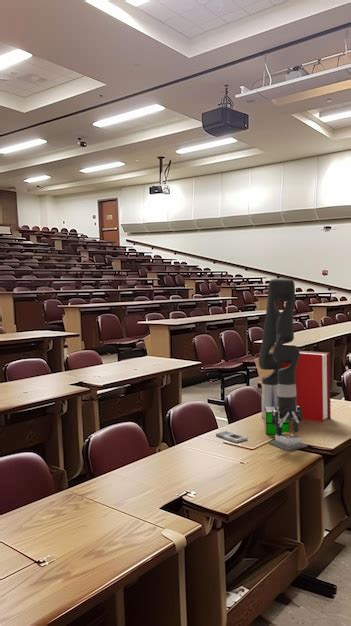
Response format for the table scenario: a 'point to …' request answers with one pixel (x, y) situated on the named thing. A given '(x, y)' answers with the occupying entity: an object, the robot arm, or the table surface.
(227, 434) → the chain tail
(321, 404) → the book
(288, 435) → the keeper
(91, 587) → the table surface
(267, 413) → the puzzle cube
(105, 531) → the table surface
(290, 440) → the link
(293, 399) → the robot arm
